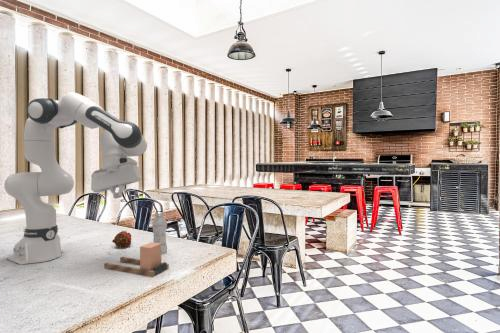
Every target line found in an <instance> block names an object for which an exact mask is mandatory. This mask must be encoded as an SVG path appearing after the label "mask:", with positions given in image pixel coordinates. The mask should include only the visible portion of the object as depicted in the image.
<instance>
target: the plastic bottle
mask: <svg viewBox="0 0 500 333" xmlns="http://www.w3.org/2000/svg"><path fill="white" fill-rule="evenodd" d="M164 213H165V212H164V211H162V210H159V211H154V217H155V218H154V219H153V220H152V231H153V235H152V236H153V240H152V241H153V242H152V243H159V244H161V255H164V254H166V253H167V252H168V244H167V228H168V221H167V219H166V218H165V217H164V216H165V214H164Z"/></svg>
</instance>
